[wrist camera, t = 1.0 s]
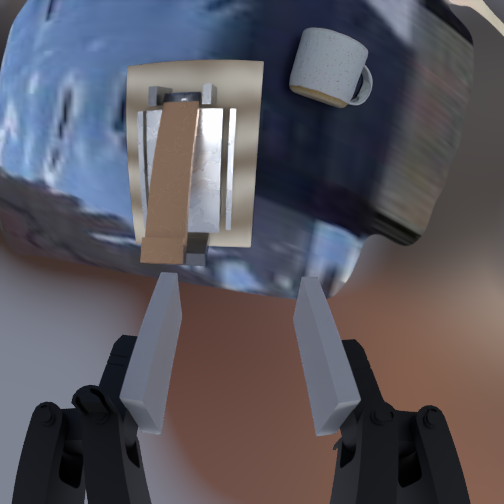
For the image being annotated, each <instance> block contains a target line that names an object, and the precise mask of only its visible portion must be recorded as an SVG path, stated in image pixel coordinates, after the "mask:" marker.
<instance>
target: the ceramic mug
mask: <svg viewBox="0 0 504 504" xmlns="http://www.w3.org/2000/svg"><path fill="white" fill-rule="evenodd" d="M367 56H368V50H367V49H366V48H365V47H364V46H363V45H362V44H361V43H359V42H358V41H356V40H354V39H352V38H350V37H348V36H346V35H344V34H341V33H338V32H335V31H332V30H329V29H323V28H308V29H305V30H304V31H303V33H302V37H301V41H300V44H299V47H298V51H297V54H296V58H295V62H294V65H293V68H292V71H291V75H290V83H289V86H290V89H291V90H292V91H293V92H295V93H297V94H300V95H302V96H305V97H308V98H311V99H314V100H317V101H320V102H323V103H326V104H328V105H332V106H335V107H338V108H343V107H346V106H347V105H348V104H351V105H360V104H362V103H363V102H365V101H366V99H367V98H368V97H369V95H370V92H371V90H372V76H371V73H370V71H369V70H368V68H367V67H366V66H365V62H366V59H367ZM361 73H362V76H363V84H362V87H361V89H360V91H359V93H358V94H357V97H356V98H355V99H353V100H351V99H352V97H353V94H354V91H355V88H356V85H357V82H358V80H359V77H360V75H361Z"/></svg>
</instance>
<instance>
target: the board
mask: <svg viewBox="0 0 504 504" xmlns="http://www.w3.org/2000/svg"><path fill="white" fill-rule="evenodd" d="M263 64H264V62H262V61H247V60H185V61H170V62H158V63H149V64H141V65H134V66H128V70H127V99H126V123H127V154H128V171H129V184H130V195H131V205H132V214H133V222H134V230H135V237H136V244H142V237H145V230H146V228H144V220H143V210H142V199H141V187H140V172H139V152H138V112H139V111H147V110H160V109H163V105H161V106H148V96H149V87H151V86H160V87H166V88H171V89H172V93H175V92H201V106H200V108H225V119H224V141H223V168H222V204H221V224H220V231H219V233H210V242H209V246H228V247H251V233H252V219H253V205H254V190H255V176H256V162H257V148H258V134H259V120H260V106H261V92H262V78H263ZM203 84H213V85H214V86H216V87H217V104H202V94H203ZM231 108H234V109H236V126H235V145H234V166H233V189H232V215H231V230H226V196H227V167H228V143H229V123H230V109H231Z"/></svg>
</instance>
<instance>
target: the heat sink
mask: <svg viewBox="0 0 504 504" xmlns="http://www.w3.org/2000/svg"><path fill="white" fill-rule="evenodd" d="M165 93H172V89H171V88H166V87H160V86H151V87H149V96H148V106H161V105H163V104H164V95H165ZM202 104H217V87H216V86H214V85H213V84H203V94H202ZM161 114H162V109H160V110H147V111H139V112H138V152H139V172H140V187H141V199H142V210H143V220H144V228H146V218H147V207H148V198H149V189H150V181H151V173H152V166H153V159H154V153H155V147H156V141H157V135H158V129H159V124H160V119H161ZM224 119H225V108H200V110H199V118H198V125H197V134H196V142H195V151H194V160H193V170H192V181H191V192H190V205H189V219H188V235H187V255H186V265H192V266H205V264H206V258H207V253H208V248H209V242H210V233H219V231H220V224H221V204H222V168H223V141H224ZM235 126H236V109H234V108H231V109H230V123H229V143H228V167H227V196H226V230H231V215H232V189H233V166H234V145H235ZM168 265H178V264H168Z"/></svg>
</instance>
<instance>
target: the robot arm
mask: <svg viewBox="0 0 504 504" xmlns="http://www.w3.org/2000/svg"><path fill="white" fill-rule="evenodd" d="M181 319H182V312H181V304H180V296H179V288H178V278H177V273H164V272H161V274H160V276H159V279H158V282H157V284H156V287H155V290H154V292H153V295H152V298H151V300H150V303H149V306H148V309H147V312H146V314H145V317H144V320H143V323H142V326H141V329H140V332H139V335H138V337H137V336H128V335H122V336H121V337H120V338H119V339H118V340H117V341H116V342H115V343H114V345H113V348H112V351H111V353H110V356H109V359H108V361H107V365H106V367H105V370H104V373H103V375H102V378H101V381H100V384H99V386H95V385H88V386H83V387H82V388H80V389H79V390H77V391H76V393H75V394H74V395H73V398H72V402H71V403H72V404H73V405H74V406H75V408H71V409H60V408H59V407H58V406H57V405H56V404H54V403H52V402H44V403H40V404H39V405H38V406H37V407H36V408H35V410H34V412H33V414H32V418H31V421H30V424H29V427H28V431H27V434H26V437H25V441H24V445H23V449H22V453H21V457H20V461H19V466H18V470H17V475H16V480H15V486H14V492H13V499H12V504H84V500H85V490H86V492H87V499H88V504H151V500H150V496H149V491H148V487H147V483H146V478H145V473H144V468H143V463H142V457H141V451H140V445H139V441H138V438H137V436H136V435H137V430H138V427H139V429H140V430H141V431H142V432H146V433H151V434H158V435H161V431H162V425H163V418H164V412H165V406H166V399H167V392H168V387H169V382H170V376H171V370H172V365H173V360H174V354H175V349H176V344H177V339H178V334H179V329H180V324H181ZM293 322H294V326H295V331H296V336H297V340H298V345H299V350H300V354H301V360H302V364H303V370H304V374H305V379H306V384H307V389H308V394H309V400H310V405H311V410H312V415H313V420H314V425H315V431H316V436H321V435H329V434H335V433H336V432H337V431H338V430H339V428H340V430H341V434H342V437H341V438H340V439H339V440H338V441H337V442H336V444H335V445H334V447H333V450H336V448H338V453H337V461H336V468H335V475H334V482H333V488H332V494H331V500H330V504H470V499H469V495H468V491H467V487H466V483H465V479H464V475H463V472H462V468H461V465H460V461H459V458H458V455H457V451H456V448H455V445H454V442H453V439H452V436H451V433H450V431H449V428H448V425H447V422H446V420H445V417H444V415H443V413H442V411H441V410H439V409H438V408H437V407H435V406H432V405H428V406H424V407H422V408H421V409H420V410H419V411H418V412H407V411H399V410H395V409H394V408H393V407H392V406H391V405H390V404H388V403H387V402H385V401H384V400H383V398H382V395H381V393H380V390H379V387H378V385H377V382H376V379H375V377H374V374H373V372H372V369H371V368H370V364H369V361H368V360H367V356H366V354H365V351H364V349H363V348H362V346H361V345H360V344H359V343H358V342H357V341H356V340H355V339H353V340H341V339H340V336H339V333H338V330H337V328H336V325H335V322H334V319H333V317H332V314H331V311H330V308H329V306H328V303H327V300H326V298H325V295H324V293H323V290H322V287H321V285H320V282H319V280H318V277H302V279H301V284H300V289H299V294H298V299H297V303H296V308H295V313H294V318H293Z"/></svg>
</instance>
